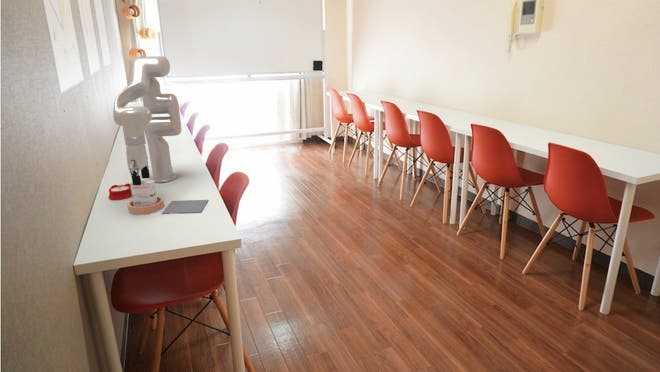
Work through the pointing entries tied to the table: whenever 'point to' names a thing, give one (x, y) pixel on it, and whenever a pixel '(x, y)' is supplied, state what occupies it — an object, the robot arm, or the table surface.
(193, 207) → the mat
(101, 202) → the table surface
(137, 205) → the ink box
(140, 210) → the copper faceted ring
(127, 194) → the alarm clock
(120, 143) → the table surface
